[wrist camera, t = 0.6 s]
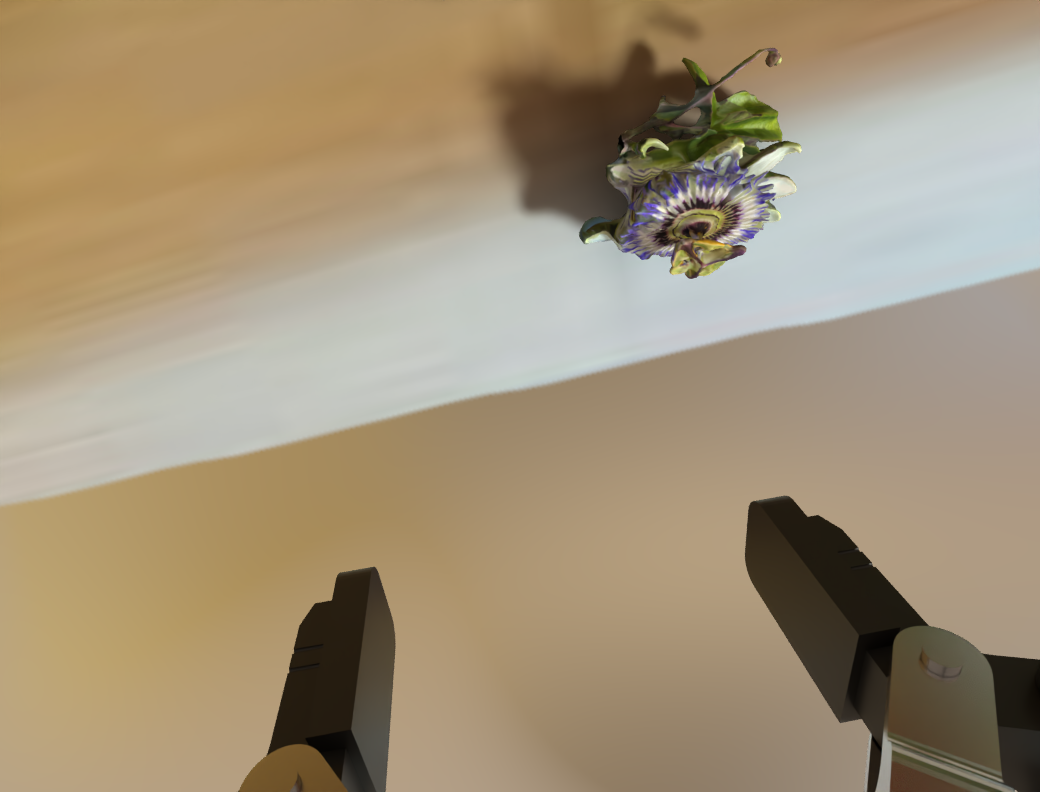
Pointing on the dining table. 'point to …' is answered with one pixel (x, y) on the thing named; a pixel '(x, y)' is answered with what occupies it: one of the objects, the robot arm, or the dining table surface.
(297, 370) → the dining table surface
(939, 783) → the robot arm
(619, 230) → the passion flower
